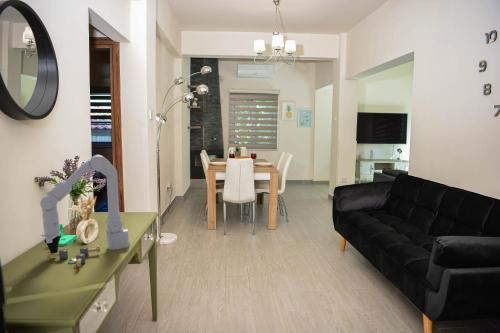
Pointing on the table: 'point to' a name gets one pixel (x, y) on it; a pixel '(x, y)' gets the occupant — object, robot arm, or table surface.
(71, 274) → the table surface
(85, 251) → the knob
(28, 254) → the table surface
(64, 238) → the camera mount
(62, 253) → the knob
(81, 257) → the knob
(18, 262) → the table surface
